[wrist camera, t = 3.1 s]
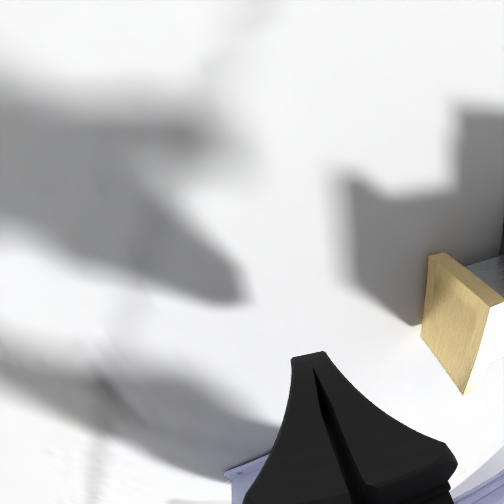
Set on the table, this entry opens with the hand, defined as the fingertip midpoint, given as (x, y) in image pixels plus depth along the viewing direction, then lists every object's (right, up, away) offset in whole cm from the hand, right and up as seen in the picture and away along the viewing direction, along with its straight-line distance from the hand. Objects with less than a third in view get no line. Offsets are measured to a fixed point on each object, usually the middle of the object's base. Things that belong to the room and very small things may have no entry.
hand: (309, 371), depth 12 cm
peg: (+11, +3, +3) cm, 12 cm away
